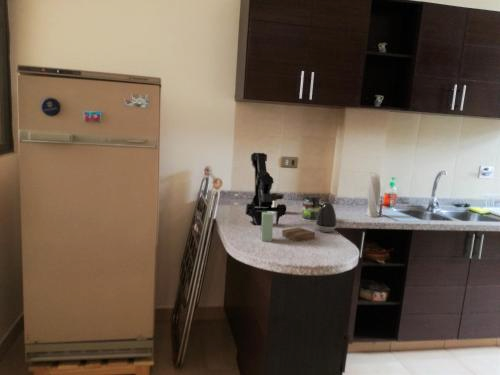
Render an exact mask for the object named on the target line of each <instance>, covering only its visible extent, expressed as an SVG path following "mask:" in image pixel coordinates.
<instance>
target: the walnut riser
mask: <svg viewBox="0 0 500 375" xmlns="http://www.w3.org/2000/svg"><path fill="white" fill-rule="evenodd" d="M281 237H284V238H286V239H289V240H292V241H295V242H303V241H304V242H305V241H309V240H311V241H312V240H315V239H316V232H314V231H311V230H310V229H305V228H302V227H293V228H287V229H282V230H281Z"/></svg>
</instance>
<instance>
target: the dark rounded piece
mask: <svg viewBox="0 0 500 375" xmlns="http://www.w3.org/2000/svg"><path fill="white" fill-rule="evenodd" d="M317 205H318V206H320V210H319V213H318V216H317V221H315V224H316V226H317V229H318V230H319V231H320V232H322V233H332V232H333V231H335V229H336V227H337V214H336V211H335V207H334V206H333V204H332V203H331V202H327V201H326V202H324V203H323V204H321V203H320V204H317Z"/></svg>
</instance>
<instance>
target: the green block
mask: <svg viewBox="0 0 500 375" xmlns="http://www.w3.org/2000/svg"><path fill="white" fill-rule="evenodd" d="M273 222H274V214H272V212H262V221H261V224H260V240H261V242H272V240H273V227H274V226H273V225H274V224H273Z"/></svg>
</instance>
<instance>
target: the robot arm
mask: <svg viewBox="0 0 500 375" xmlns="http://www.w3.org/2000/svg"><path fill="white" fill-rule="evenodd" d="M250 162H251V166H252V167H253V169H254V194H253V197H252V198H251V202H250V203H246V204H245V215H247V216H248V217H250V218H251V220H252V221H249V222H250V223H251V224H252V225H254V226H255V225H256V226H258V225H260V226H261V221H262V212H276V214H275V224H276V226H278V223H279V219H280V217H283V216H285V215H286V212H287V205H286V204H285V203H284V204H278V205H277V207H272V205H273V202H272V201H276V200H277V195H276V193H277V192H274V193H273V194H271V190H272V187H273V184H274V178H273V177H272V176H271V175H270V173H269V171H268V170H267V164H266V162H268V154H266V153H265V152H253V153H251V155H250Z"/></svg>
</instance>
